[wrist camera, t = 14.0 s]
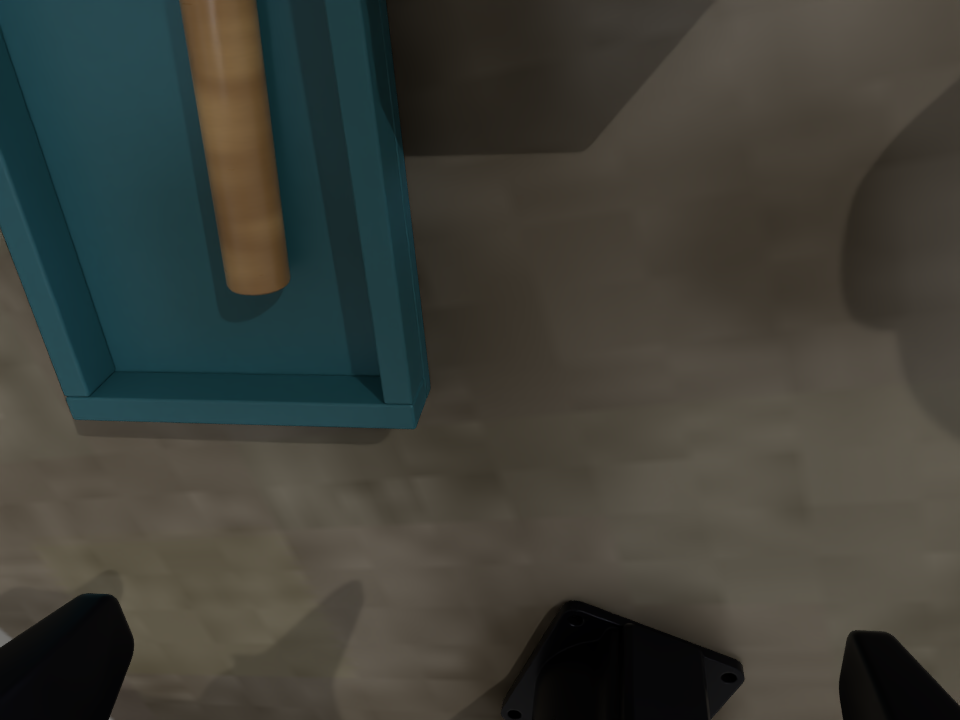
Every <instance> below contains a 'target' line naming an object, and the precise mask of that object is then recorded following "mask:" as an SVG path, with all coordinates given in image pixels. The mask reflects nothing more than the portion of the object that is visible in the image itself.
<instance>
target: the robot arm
mask: <svg viewBox="0 0 960 720" xmlns="http://www.w3.org/2000/svg"><path fill="white" fill-rule="evenodd" d="M572 615H577V616H579V617H575V616H572ZM133 651H134V639H133V635H132V633H131V630H130V628H129V626H128V623H127V621H126V618H125V616H124V614H123V611H122V609H121V606H120V604H119V602H118V600H117V599H116V598H115V597H114V596H113V595H109V594H93V593H86V594H82V595H79V596H77V597H76V598H74V599H73V600H71V601H70V602H68V603H67V604H65V605H64V606H62V607H61V608H59V609H57V610H56V611H54V612H53V613H51V614H50V615H48V616H47V617H45V618H44V619H42V620H41V621H39V622H38V623H36V624H35V625H33V626H32V627H30V628H29V629H27V630H26V631H24V632H23V633H21V634H20V635H18V636H17V637H15V638H14V639H12V640H11V641H10V642H8V643H6V644H5V645H4V646H2V647H0V720H109V717H110V715H111V712H112V709H113V707H114V704H115V701H116V699H117V696H118V694H119V691H120V688H121V686H122V683H123V680H124V678H125V675H126V672H127V670H128V667H129V665H130V662H131V659H132V656H133ZM744 680H745V679H744V672H743V665H742V664H741V663H740V662H739V661H737V660H736V659H733V658H731V657H728V656H725V655H723V654H720V653H717V652H715V651H712V650H709V649H707V648H704V647H701V646H699V645H696V644H693V643H691V642H688V641H685V640H683V639H680V638H677V637H675V636H672V635H669V634H667V633H664V632H661V631H659V630H656V629H653V628H651V627H648V626H645V625H643V624H640V623H637V622H635V621H632V620H629V619H627V618H624V617H621V616H619V615H616V614H613V613H611V612H608V611H605V610H603V609H600V608H597V607H595V606H592V605H589V604H587V603H584V602H581V601H569V602H566V603H565V604H564V605H563V606H562V607H561V609H560V610H559V612H558V613H557V615H556V617H555V618H554V620H553V621H552V623H551V625H550V626H549V628H548V629H547V631H546V633H545V634H544V636H543V637H542V639H541V641H540V642H539V644H538V645H537V647H536V649H535V650H534V652H533V653H532V655H531V657H530V658H529V660H528V661H527V663H526V665H525V666H524V668H523V669H522V671H521V673H520V674H519V676H518V677H517V679H516V681H515V682H514V684H513V685H512V687H511V689H510V690H509V692H508V693H507V695H506V697H505V698H504V700H503V703H502V709H501V715H502V717H503V718H504V719H505V720H711V719H712V718H713V716H714V715H715V714H716V713H717V712H718V711H719V710H720V708H721V707H722V706H723V705H724V704H725V703H726V702H727V700H728V699H729V698H730V697H731V696H732V695H733V694H734V692H735V691H736V690H737V689H738V688H739V687H740V686H741V684H742V683H743V682H744ZM839 695H840V703H841V709H842V715H843V720H960V706H959V705H958V704H957V703H956V702H955V700H954V699H953V698H952V697H951V696H950V695H949V694H948V693H947V692H946V691H945V690H944V689H943V688H942V687H941V686H940V685H939V684H938V683H937V681H936V680H935V679H934V678H933V677H932V676H931V675H930V674H929V673H928V672H927V671H926V670H925V669H924V668H923V667H922V666H921V665H920V664H919V662H918V661H917V660H916V659H915V658H914V657H913V656H912V655H911V654H910V653H909V652H908V651H907V650H906V649H905V648H904V647H903V646H902V645H901V643H900V642H899V641H898V640H897V639H896V638H895V637H894V636H892V635H891V634H889V633H887V632H882V631H862V630H855V631H852V632H850V634H849V635H848V637H847V641H846V646H845V652H844V657H843V663H842V668H841V673H840V679H839Z"/></svg>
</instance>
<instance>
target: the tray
mask: <svg viewBox="0 0 960 720" xmlns="http://www.w3.org/2000/svg"><path fill="white" fill-rule="evenodd" d="M256 2H257V10H258V18H259V26H260V34H261V42H262V50H263V59H264V67H265V75H266V83H267V91H268V99H269V107H270V115H271V123H272V132H273V140H274V148H275V156H276V164H277V172H278V180H279V188H280V196H281V205H282V213H283V221H284V229H285V237H286V245H287V253H288V261H289V269H290V281H289V283H288V285H287V286H286V287H284V288H283V289H281V290H279V291H276V292H273V293H269V294H265V295H255V296H250V295H241V294H237V293H234V292H232V291H231V290H230V289H229V288H228V287H227V284H226V278H225V272H224V266H223V260H222V254H221V248H220V242H219V236H218V230H217V224H216V218H215V212H214V206H213V200H212V195H211V189H210V183H209V177H208V171H207V165H206V159H205V153H204V147H203V141H202V135H201V129H200V123H199V117H198V111H197V105H196V99H195V93H194V87H193V81H192V75H191V69H190V63H189V57H188V51H187V45H186V39H185V33H184V27H183V21H182V15H181V9H180V3H179V0H0V228H1V230H2V233H3V235H4V238H5V241H6V243H7V246H8V249H9V251H10V254H11V256H12V259H13V262H14V264H15V267H16V270H17V272H18V275H19V277H20V280H21V283H22V285H23V288H24V290H25V293H26V296H27V298H28V301H29V304H30V306H31V309H32V311H33V314H34V317H35V319H36V322H37V325H38V327H39V330H40V332H41V335H42V338H43V340H44V343H45V346H46V348H47V351H48V353H49V356H50V359H51V361H52V364H53V367H54V369H55V372H56V374H57V377H58V380H59V382H60V385H61V388H62V390H63V393H64V395H65V396H67V397H66V401H67V403H68V406H69V409H70V411H71V414H72V417H73V418H74V419H75V420H99V421H136V422H172V423H208V424H244V425H280V426H316V427H352V428H388V429H415V428H416V426H417V423H418V421H419V418H420V415H421V412H422V410H423V407H424V404H425V401H426V398H427V397H428V394H429V391H430V388H431V387H430V378H429V370H428V361H427V352H426V344H425V335H424V326H423V318H422V309H421V300H420V292H419V283H418V274H417V266H416V257H415V248H414V240H413V231H412V222H411V214H410V205H409V196H408V188H407V179H406V170H405V162H404V153H403V144H402V136H401V127H400V119H399V110H398V101H397V93H396V84H395V75H394V67H393V58H392V49H391V41H390V32H389V23H388V15H387V6H386V0H256Z"/></svg>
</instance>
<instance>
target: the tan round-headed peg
mask: <svg viewBox="0 0 960 720" xmlns="http://www.w3.org/2000/svg"><path fill="white" fill-rule="evenodd" d="M179 3H180V9H181V15H182V21H183V27H184V33H185V39H186V45H187V51H188V57H189V63H190V69H191V75H192V81H193V87H194V93H195V99H196V105H197V111H198V117H199V123H200V129H201V135H202V141H203V147H204V153H205V159H206V165H207V171H208V177H209V183H210V189H211V195H212V200H213V206H214V212H215V218H216V224H217V230H218V236H219V242H220V248H221V254H222V260H223V266H224V272H225V278H226V284H227V287H228V288H229V289H230V290H231V291H232V292H234V293H237V294H241V295H250V296H255V295H265V294H269V293H273V292H276V291H279V290H281V289H283V288H284V287H286V286H287V285H288V283H289V281H290V269H289V261H288V253H287V245H286V237H285V229H284V221H283V213H282V205H281V196H280V188H279V180H278V172H277V164H276V156H275V148H274V140H273V132H272V123H271V115H270V107H269V99H268V91H267V83H266V75H265V67H264V59H263V50H262V42H261V34H260V26H259V18H258V10H257V2H256V0H179Z"/></svg>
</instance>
